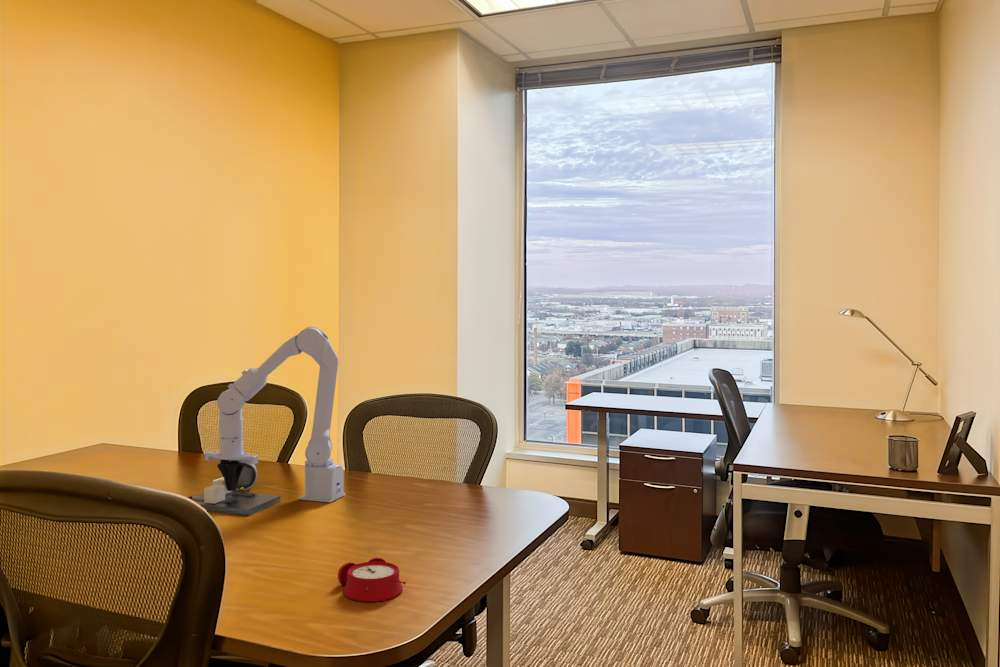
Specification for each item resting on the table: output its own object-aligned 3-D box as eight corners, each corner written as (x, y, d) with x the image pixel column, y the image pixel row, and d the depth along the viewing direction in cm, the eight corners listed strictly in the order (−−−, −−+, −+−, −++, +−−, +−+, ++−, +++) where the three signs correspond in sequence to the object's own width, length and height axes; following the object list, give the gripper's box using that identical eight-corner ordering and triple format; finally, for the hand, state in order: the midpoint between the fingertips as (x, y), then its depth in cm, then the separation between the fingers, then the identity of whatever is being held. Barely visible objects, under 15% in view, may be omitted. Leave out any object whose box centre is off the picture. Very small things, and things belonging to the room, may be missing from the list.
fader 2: (225, 499, 195) (224, 485, 194) (214, 503, 191) (214, 489, 191) (215, 498, 196) (214, 484, 195) (204, 502, 192) (204, 487, 192)
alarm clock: (358, 589, 133) (330, 545, 145) (355, 621, 134) (327, 575, 147) (414, 578, 138) (382, 536, 150) (411, 609, 140) (379, 565, 152)
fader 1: (232, 491, 202) (232, 477, 202) (222, 495, 198) (222, 481, 198) (222, 490, 203) (222, 476, 203) (212, 494, 199) (212, 480, 199)
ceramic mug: (256, 482, 219) (256, 455, 218) (257, 489, 211) (256, 461, 210) (216, 486, 215) (215, 458, 215) (215, 493, 208) (214, 464, 207)
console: (280, 501, 199) (280, 494, 199) (248, 515, 187) (248, 507, 187) (214, 494, 205) (214, 487, 205) (179, 507, 193) (179, 499, 193)
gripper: (265, 436, 201) (265, 488, 201) (217, 432, 205) (218, 483, 206) (248, 441, 194) (248, 495, 195) (199, 437, 198) (200, 490, 199)
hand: (231, 489), depth 200 cm, fingers closed
